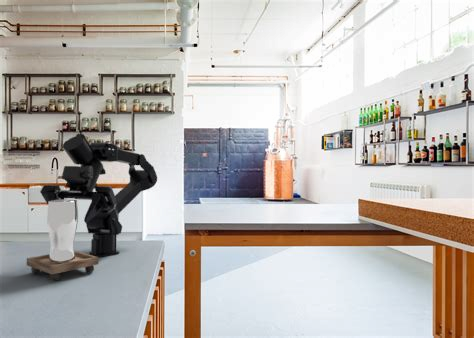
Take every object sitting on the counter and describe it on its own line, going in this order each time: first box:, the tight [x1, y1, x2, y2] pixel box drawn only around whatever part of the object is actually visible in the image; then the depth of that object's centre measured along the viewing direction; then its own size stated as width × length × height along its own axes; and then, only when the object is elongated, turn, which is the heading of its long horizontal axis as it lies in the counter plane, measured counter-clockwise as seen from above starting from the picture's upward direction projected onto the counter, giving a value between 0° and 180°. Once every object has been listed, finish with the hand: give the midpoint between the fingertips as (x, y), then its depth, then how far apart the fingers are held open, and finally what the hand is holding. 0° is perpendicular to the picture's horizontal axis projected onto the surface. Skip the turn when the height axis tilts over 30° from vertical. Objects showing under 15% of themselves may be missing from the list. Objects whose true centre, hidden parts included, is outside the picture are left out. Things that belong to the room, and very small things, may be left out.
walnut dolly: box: [26, 250, 99, 282], centre depth 99 cm, size 12×12×4 cm
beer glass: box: [46, 199, 79, 264], centre depth 99 cm, size 7×7×15 cm
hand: (67, 221), depth 100 cm, fingers open, 9 cm apart
